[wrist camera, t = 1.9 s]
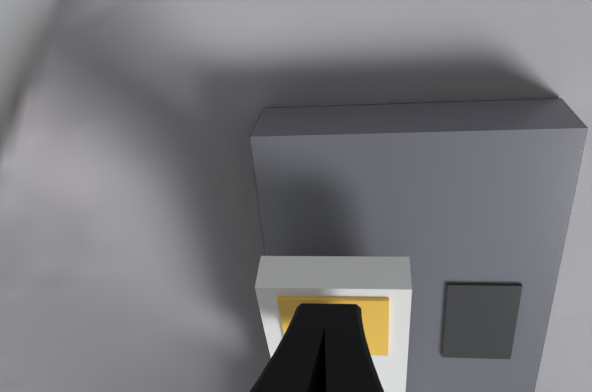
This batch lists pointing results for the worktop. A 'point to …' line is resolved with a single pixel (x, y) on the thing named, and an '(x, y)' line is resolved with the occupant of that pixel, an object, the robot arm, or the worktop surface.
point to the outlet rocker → (343, 302)
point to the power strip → (435, 218)
